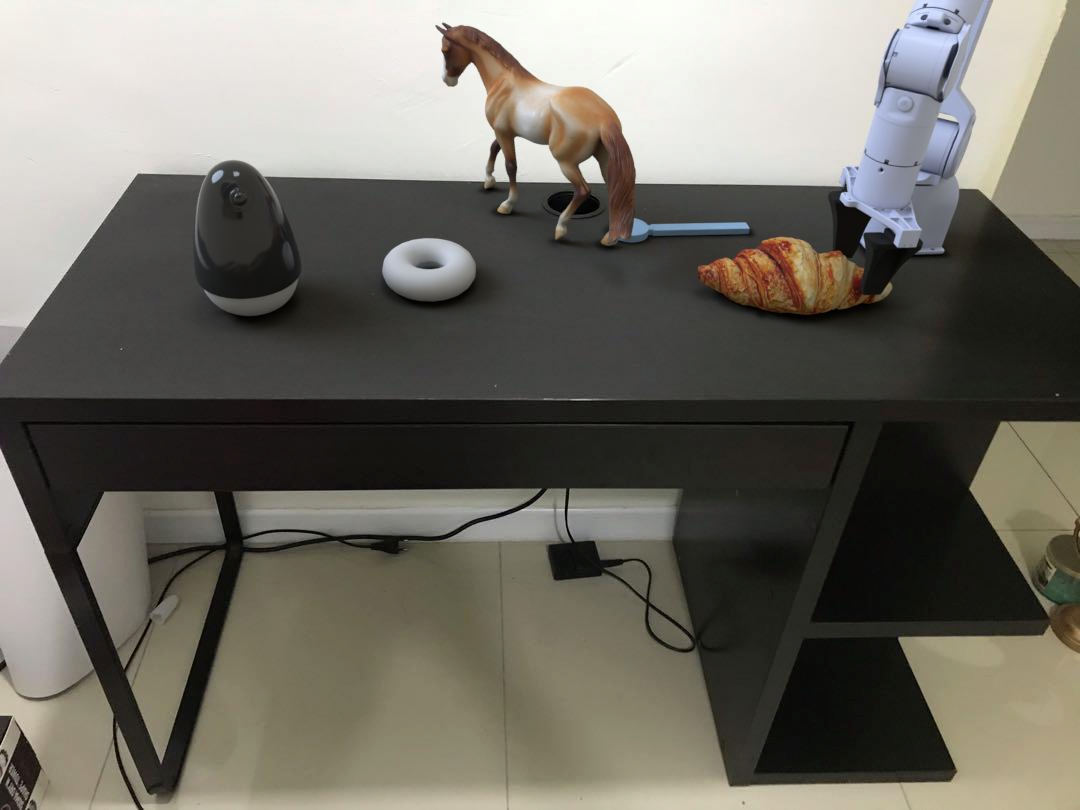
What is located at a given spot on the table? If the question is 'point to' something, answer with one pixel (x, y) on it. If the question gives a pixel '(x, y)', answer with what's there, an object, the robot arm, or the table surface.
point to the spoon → (684, 229)
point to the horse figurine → (546, 126)
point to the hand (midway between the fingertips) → (856, 274)
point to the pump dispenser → (243, 242)
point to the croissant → (789, 278)
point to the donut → (429, 269)
